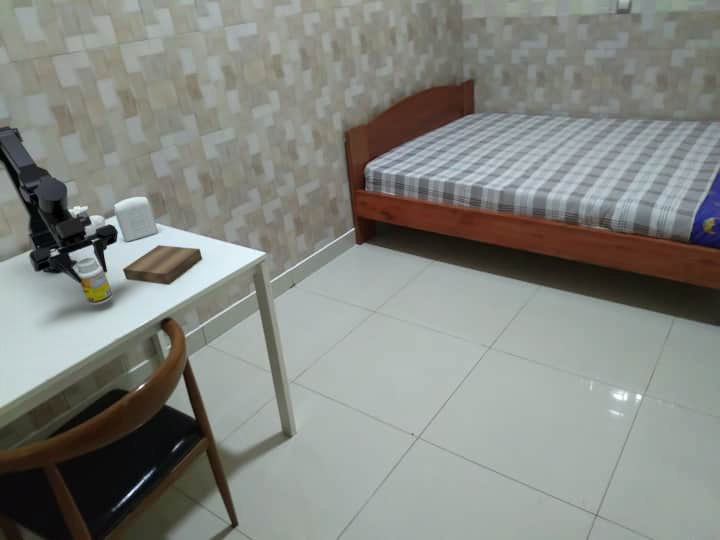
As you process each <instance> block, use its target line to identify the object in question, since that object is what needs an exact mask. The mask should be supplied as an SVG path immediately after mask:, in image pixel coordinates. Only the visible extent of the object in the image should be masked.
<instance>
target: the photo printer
mask: <svg viewBox="0 0 720 540" xmlns="http://www.w3.org/2000/svg"><path fill="white" fill-rule="evenodd" d="M113 207H114V214H115V217H116V220H117V223H118V227H119V229H120V231H121V235H122V237H123V241H124V242H131V241H135V240H138V239H142V238H145V237H148V236H152V235H156V234H157V233H159V231H158V230H159V229H158V226H157V224H156V219H155V216H154V214H153V210H152V207H151V204H150V202H149V200H148V199H147V197H145V196H135V197H134V196H133V197H130V198H126V199H124V200H120V201H119V202H117V203H116V204H114V205H113Z"/></svg>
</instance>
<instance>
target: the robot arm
mask: <svg viewBox="0 0 720 540" xmlns="http://www.w3.org/2000/svg"><path fill="white" fill-rule="evenodd" d="M23 143H24V139H23V137H22V135H21V133H20V131H19V129H18V127H14V128H13V127H10V126H9V125H6V126H2V127H0V164H1V166H2V167H3V169H4V170H5V172H6V175H7V176H8V178H9V180H10V183H11V184H12V186H13V189H14V191H15V192H16V195H17V197H18V198H19V200H20V202H21V204H22V206H23V208H24V209H25V212H26V214H27V216H28V221H27V230H28V235H27V236H28V241H29V245H30V247H31V248H32V251H30V253H29V255H28V256H29V260H30V265H31V266H32V269H33V270H34V272H36V273H37V272H42V271H43V272H47V273H49V272H50V273H56V274H58V273H64V274H65V275H67V276H68V277H70V278H72V280H74V281H75V282H77V283H78V284H80V283H81V280H80V278H79V276H78V275H77V272H76V270H75V269H74V268H73V265H75V264H77V263H78V261H77V260H74V259H72V258H71V257H70V255H69V254H71V253H74V252H77V251H80V250H82V249H84V248H87V247H90V246H92V248H93V253H94V255H95V257H96V258H95V259H97V260H96V261H97V263H99V265H101V266H102V267H103V270H104V272H105V274H107V273H108V267H107V262H106V258H105V252H104V251H105V250H107V248H108V246H111V245H114V244H115V243H117V242H118V235H119V231H118V230H117V227H115V226H114V225H113V224H110V223H109V224H105V226H103V227H100V228H97V229H96V233H95V234H93V235H91V236H88V237H85V235H86V232H85V230H86V229H85V227H86V226H89V225H91V224H92V222H91V220H90V218H89V217H90V216H89V215H88V213H87V212H86V211H84V212H81V213H78V214H77V218H76V217H75V218H74V217H73V216H72V214H71V213H70V212H69V209H68V206H69V199H68V198H69V197H68V188H67V185H66V184H65V183H64V182H63V181H61V180H59V179H57V178H56V177H53V176H52V175H51V174H50V172H49V171H48V170H47V169H46V168H43V167H40V166H38V164H36V161H34V159H33V158H32V156H31V155H30V154H29V152H28V151H27V149H26V148H25V146H24V144H23Z"/></svg>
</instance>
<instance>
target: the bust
mask: <svg viewBox="0 0 720 540" xmlns="http://www.w3.org/2000/svg"><path fill="white" fill-rule="evenodd" d="M88 209H89V206H88V205H86V206H80V205H76V206H74V207H73V208H72V209H68V210H69V212H70V213H71V215H72V217H74V218H77V214H78V213H81V212H84V211H85V212H86V211H88ZM89 218H90V220H91V222H92V224H91V225H89V226H86V227H85V229H86V230H85V232H86V235H85V238H88V237H91V236H93V235H96V229H97V228H100V227H103V226H106V219H105V218H104V216H102V215H98V214H97V215H90V216H89Z"/></svg>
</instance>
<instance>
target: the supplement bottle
mask: <svg viewBox="0 0 720 540" xmlns="http://www.w3.org/2000/svg"><path fill="white" fill-rule="evenodd" d="M76 266H77V268H78V271H77V272H76V273H77V275H78V276H79V278H80V280H81V283H79V284H80V286H81V288H82V291H83V293H84V295H85V299H86V300H87V302H88V303H89V304H91V305H101V304H103V303H106V302H108V301H110V299H112V297H113V291H112V289H111V285H110V283H109V281H108V278H107V275H106V273H105V272H104V270H103V267H102V266H101V265H100V264H98V261H97V260H96V258H93V257H88V258H84V259H82V260H79V261H77V263H76Z"/></svg>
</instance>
